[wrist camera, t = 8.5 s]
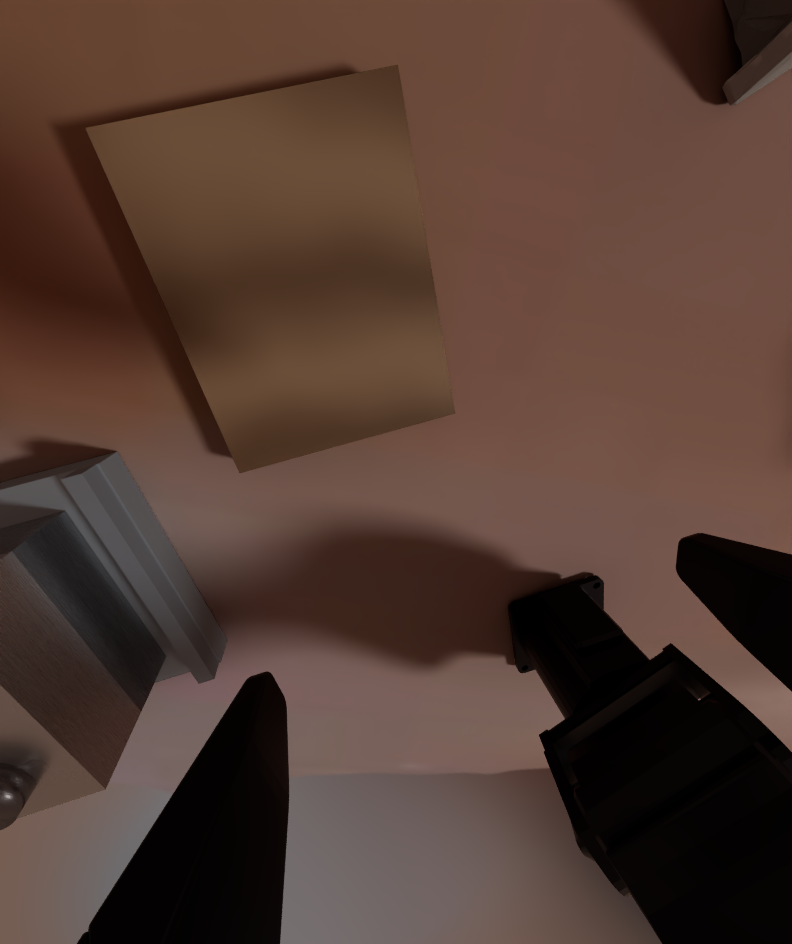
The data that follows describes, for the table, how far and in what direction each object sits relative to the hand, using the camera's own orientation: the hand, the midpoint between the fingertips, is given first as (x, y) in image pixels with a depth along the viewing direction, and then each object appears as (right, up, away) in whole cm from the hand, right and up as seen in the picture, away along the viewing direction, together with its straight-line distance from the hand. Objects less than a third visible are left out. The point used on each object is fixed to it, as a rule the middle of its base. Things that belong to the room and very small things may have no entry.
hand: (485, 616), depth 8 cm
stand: (-6, +10, +8) cm, 14 cm away
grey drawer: (-17, -3, +9) cm, 20 cm away
